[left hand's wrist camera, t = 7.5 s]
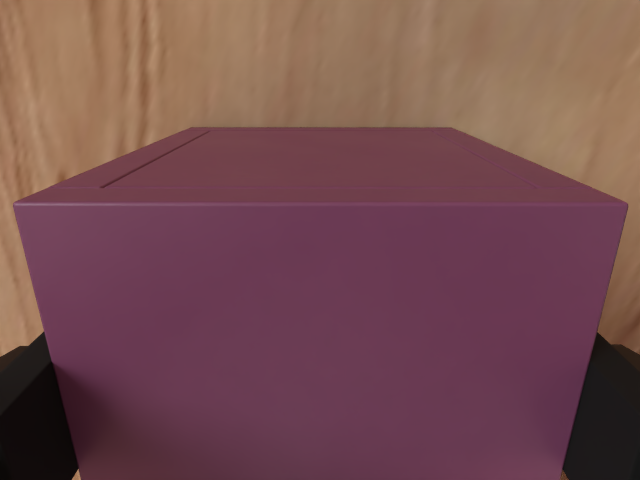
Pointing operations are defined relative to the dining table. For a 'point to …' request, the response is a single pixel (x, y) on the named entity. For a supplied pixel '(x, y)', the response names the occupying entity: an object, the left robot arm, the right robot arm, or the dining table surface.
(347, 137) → the cabinet
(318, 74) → the dining table surface
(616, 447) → the left robot arm
